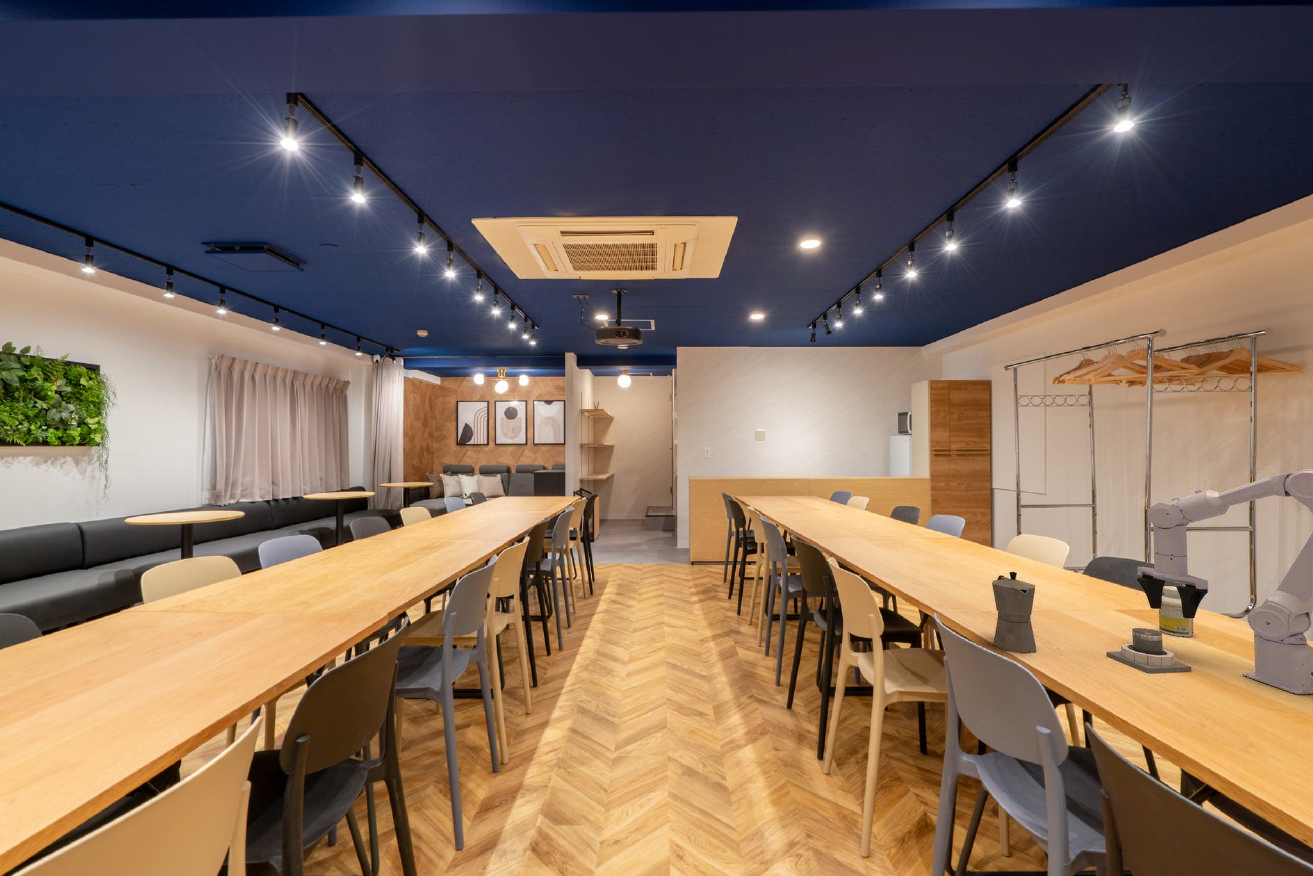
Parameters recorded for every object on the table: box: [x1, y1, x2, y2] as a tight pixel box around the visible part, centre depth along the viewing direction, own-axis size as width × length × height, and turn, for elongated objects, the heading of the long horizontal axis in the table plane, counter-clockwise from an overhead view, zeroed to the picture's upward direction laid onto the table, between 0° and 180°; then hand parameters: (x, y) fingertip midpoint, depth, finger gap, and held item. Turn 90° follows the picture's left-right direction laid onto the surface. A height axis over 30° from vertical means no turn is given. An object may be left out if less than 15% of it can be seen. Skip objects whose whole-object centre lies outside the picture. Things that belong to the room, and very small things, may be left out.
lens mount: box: [1105, 642, 1192, 674], centre depth 124 cm, size 10×10×3 cm
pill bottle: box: [1158, 585, 1194, 638], centre depth 144 cm, size 6×6×12 cm
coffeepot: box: [991, 571, 1037, 654], centre depth 136 cm, size 15×9×18 cm, turn 168°
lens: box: [1131, 627, 1164, 655], centre depth 124 cm, size 5×5×6 cm
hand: (1171, 613), depth 130 cm, fingers open, 7 cm apart
